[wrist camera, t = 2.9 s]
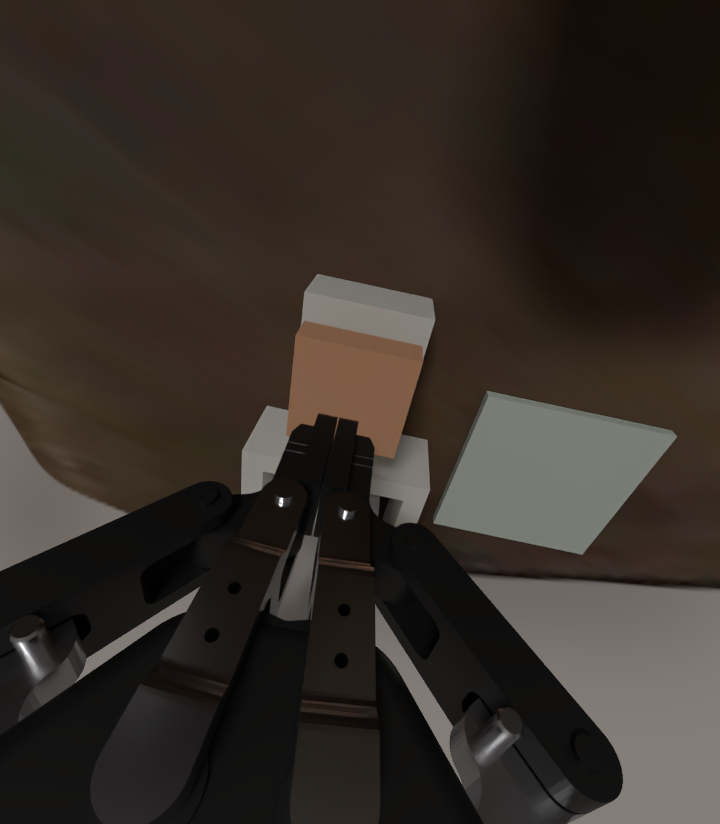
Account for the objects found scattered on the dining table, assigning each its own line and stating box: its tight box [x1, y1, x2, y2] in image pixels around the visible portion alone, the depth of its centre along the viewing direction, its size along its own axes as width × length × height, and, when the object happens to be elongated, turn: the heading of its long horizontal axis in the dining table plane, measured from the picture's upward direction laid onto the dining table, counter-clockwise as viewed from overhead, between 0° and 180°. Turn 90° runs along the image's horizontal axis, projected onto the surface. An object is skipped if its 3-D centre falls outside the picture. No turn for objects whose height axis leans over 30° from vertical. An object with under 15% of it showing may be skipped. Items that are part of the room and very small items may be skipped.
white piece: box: [241, 274, 435, 527], centre depth 24 cm, size 10×19×4 cm, turn 169°
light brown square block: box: [286, 321, 423, 459], centre depth 19 cm, size 5×5×4 cm
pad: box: [433, 391, 677, 554], centre depth 26 cm, size 11×11×1 cm
